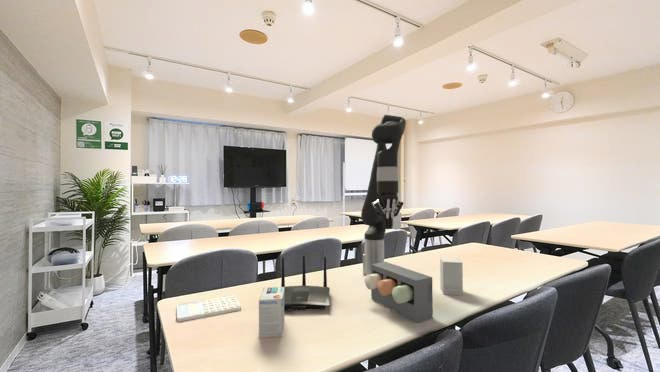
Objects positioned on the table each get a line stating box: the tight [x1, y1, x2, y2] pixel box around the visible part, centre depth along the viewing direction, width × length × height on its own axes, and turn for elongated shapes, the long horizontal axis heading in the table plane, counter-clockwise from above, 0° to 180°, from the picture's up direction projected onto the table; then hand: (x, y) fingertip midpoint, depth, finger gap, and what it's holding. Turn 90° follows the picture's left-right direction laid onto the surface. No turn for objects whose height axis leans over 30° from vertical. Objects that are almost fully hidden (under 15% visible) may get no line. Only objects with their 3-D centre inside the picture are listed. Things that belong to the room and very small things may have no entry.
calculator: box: [176, 294, 242, 322], centre depth 105 cm, size 13×20×2 cm, turn 117°
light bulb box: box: [258, 286, 285, 338], centre depth 90 cm, size 11×7×11 cm, turn 5°
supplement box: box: [439, 257, 464, 296], centre depth 120 cm, size 7×7×13 cm
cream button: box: [364, 273, 383, 290], centre depth 109 cm, size 5×5×5 cm
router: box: [280, 255, 331, 311], centre depth 112 cm, size 21×20×15 cm
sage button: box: [392, 284, 414, 304], centre depth 96 cm, size 5×5×5 cm
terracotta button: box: [378, 278, 397, 296], centre depth 102 cm, size 5×5×5 cm
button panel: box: [370, 261, 434, 324], centre depth 105 cm, size 7×23×13 cm, turn 29°
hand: (387, 228), depth 107 cm, fingers closed
